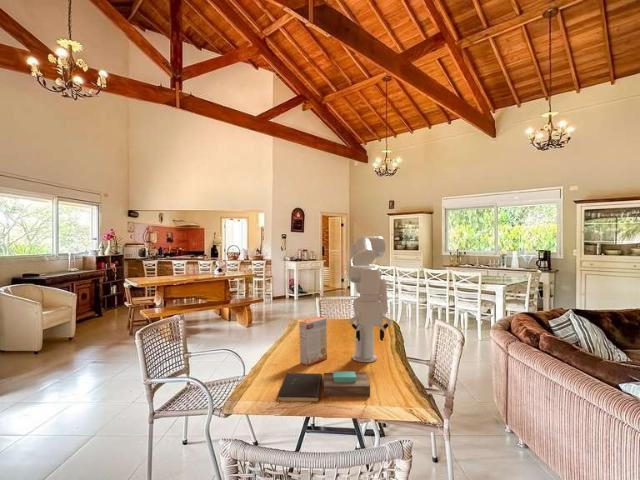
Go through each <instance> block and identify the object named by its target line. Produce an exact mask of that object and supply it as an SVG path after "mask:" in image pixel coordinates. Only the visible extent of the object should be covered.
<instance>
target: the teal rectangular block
mask: <svg viewBox="0 0 640 480" xmlns="http://www.w3.org/2000/svg"><path fill="white" fill-rule="evenodd" d="M332 373H333V378H334V382H356V374H355V373H356V371H355V370H354V371H353V370H351V371H346V370H345V371H332Z"/></svg>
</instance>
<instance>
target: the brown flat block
mask: <svg viewBox="0 0 640 480" xmlns="http://www.w3.org/2000/svg"><path fill="white" fill-rule="evenodd" d="M355 374H356V382H334V378H333V372H323V397H324V398H327V397H328V398H332V397H338V398H340V397H341V398H344V397H345V398H346V397H350V398H351V397H371V385H370V382H369V379H368V375H367V373H366V372H364V371H363V372H355Z"/></svg>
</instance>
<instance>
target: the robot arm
mask: <svg viewBox="0 0 640 480" xmlns="http://www.w3.org/2000/svg"><path fill="white" fill-rule="evenodd" d="M386 248H387V244H386V241H385V239H384V237H383V236H378V235H377V236H376V235H375V236H371V235H369V236H364V235H363V236H360V237H358V238H357V240H356V242H353V243H352V244H350V246H349V255H350V259H349V261H348V264H347V277H348V279H349V282H350V283H352V284H354V285H355V291H356V293H358V294H359V296H358V297H357V296H356V298H354V299H353V301H352V309H353V315H354V316H353V317H352V318H349V320H348V323H349V324H350V326H351V327H352V328H353V329H354V353H353V354H352V355H351V359H352V360H354V361H355V362H358V363H372V362H376V361H377V359H378V356H377V355H376V354H375V351H374V350H375V347H374V344H375V342H374V341H375V340H374V339H375V334H374V332H375V331H374V327H379V339H380V341H381V342H383V340H384V339H385V331H386V329H387V328H388V327H389V326H390V324H391V322H392V320H391V318H389V317H387V316H385V315H387V314H388V311H389V309H388V307H389V306H388V305H389V304H388V294H387V293H388V288H387V283H386V279H385V277H383V276H382V269H381V268H380V267H379V266H378V265H371V264H372V263H373V262H374V261H375V259H380V258H382V257H383V256H384V254H385V252H386ZM383 321H386V322H385V323H384V322H383ZM383 323H384V325H383Z"/></svg>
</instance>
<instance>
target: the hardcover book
mask: <svg viewBox="0 0 640 480" xmlns="http://www.w3.org/2000/svg"><path fill="white" fill-rule="evenodd" d="M322 381H323V374H322V373H309V372H308V373H307V372H306V373H303V372H300V373H299V372H296V373H294V372H287V373H286V374H285V377H284V379H283V382H282V384H281V386H280V389H279V391H278V394H277V396H276V397H277V398H278V399H277V400H278V401H284V402H285V401H288V402H290V401H293V402H298V401H299V402H301V401H302V402H320V397H321V389H322V383H323V382H322Z"/></svg>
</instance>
